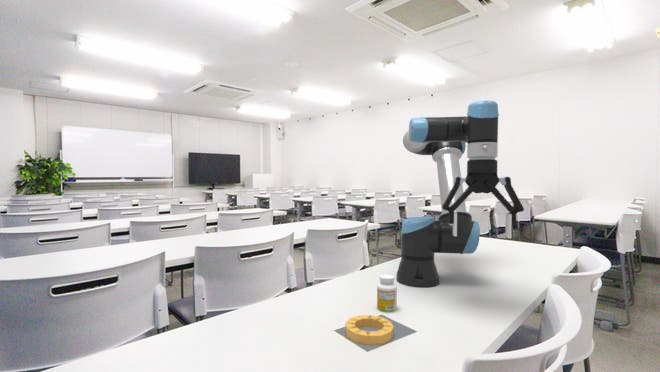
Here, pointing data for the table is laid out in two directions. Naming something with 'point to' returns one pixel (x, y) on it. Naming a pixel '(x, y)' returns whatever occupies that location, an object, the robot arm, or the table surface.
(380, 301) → the supplement bottle
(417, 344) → the table surface
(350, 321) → the golden tan faceted ring
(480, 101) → the robot arm
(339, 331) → the slate mat
